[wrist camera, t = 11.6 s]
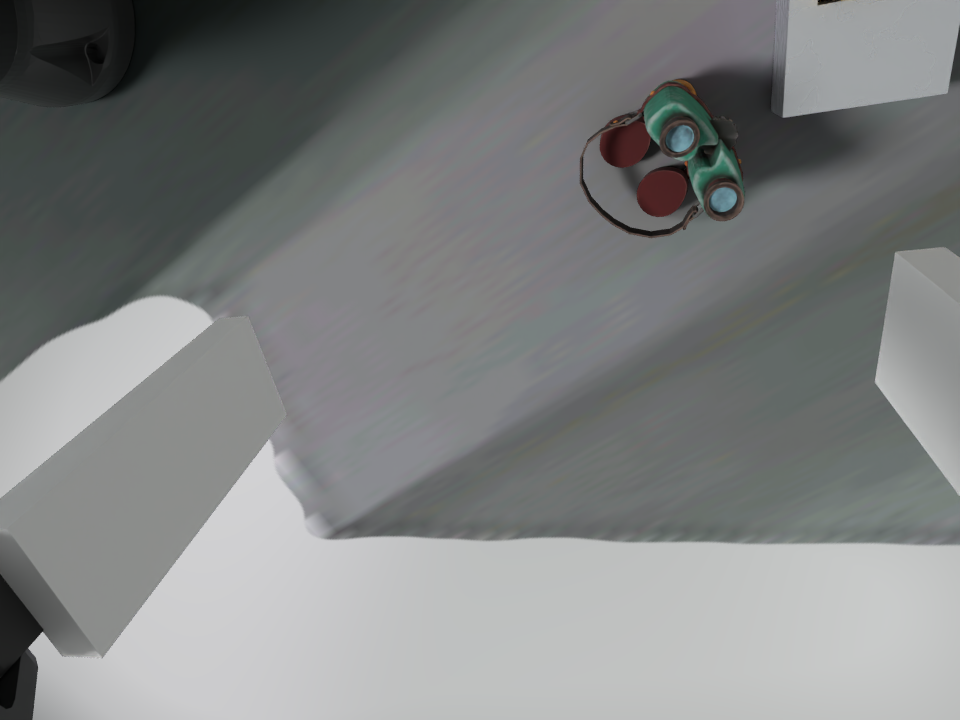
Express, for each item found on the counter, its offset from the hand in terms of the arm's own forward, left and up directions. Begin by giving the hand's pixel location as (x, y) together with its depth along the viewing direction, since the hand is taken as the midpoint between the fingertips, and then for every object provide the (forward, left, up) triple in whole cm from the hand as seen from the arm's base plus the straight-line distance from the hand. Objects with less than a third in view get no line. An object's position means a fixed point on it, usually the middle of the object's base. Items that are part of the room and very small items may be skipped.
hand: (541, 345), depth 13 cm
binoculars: (+5, -4, -35) cm, 36 cm away
